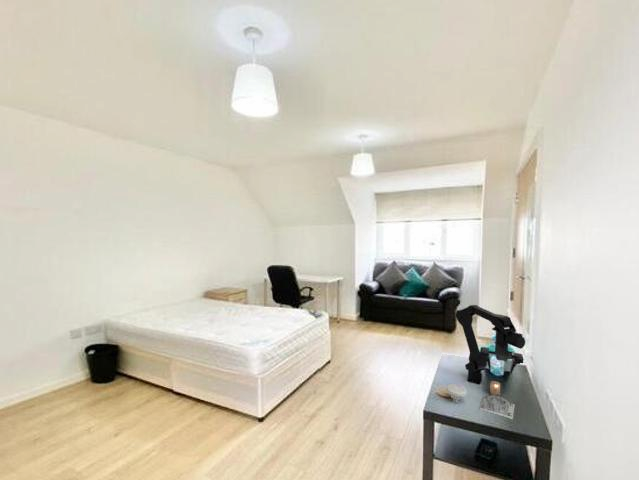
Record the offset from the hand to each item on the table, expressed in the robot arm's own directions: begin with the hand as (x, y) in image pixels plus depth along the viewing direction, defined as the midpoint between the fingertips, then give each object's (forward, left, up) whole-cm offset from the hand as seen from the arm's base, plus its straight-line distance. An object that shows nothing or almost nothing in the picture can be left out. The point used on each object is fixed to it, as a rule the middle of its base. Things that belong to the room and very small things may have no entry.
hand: (500, 371), depth 162 cm
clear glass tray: (+1, -14, -12) cm, 19 cm away
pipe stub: (-2, -1, -12) cm, 12 cm away
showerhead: (-17, -20, -12) cm, 29 cm away
